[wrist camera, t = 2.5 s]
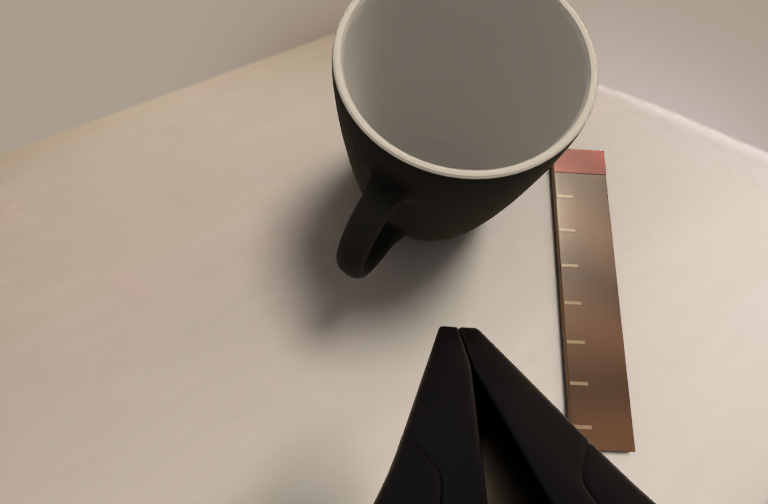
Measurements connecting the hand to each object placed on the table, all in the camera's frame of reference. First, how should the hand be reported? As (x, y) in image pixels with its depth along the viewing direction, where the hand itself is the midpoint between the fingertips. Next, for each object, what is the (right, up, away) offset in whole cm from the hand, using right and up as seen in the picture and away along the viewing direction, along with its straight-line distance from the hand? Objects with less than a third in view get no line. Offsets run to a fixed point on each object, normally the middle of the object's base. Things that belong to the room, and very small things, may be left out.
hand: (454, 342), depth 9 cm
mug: (0, +5, +14) cm, 15 cm away
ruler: (+9, 0, +13) cm, 16 cm away
